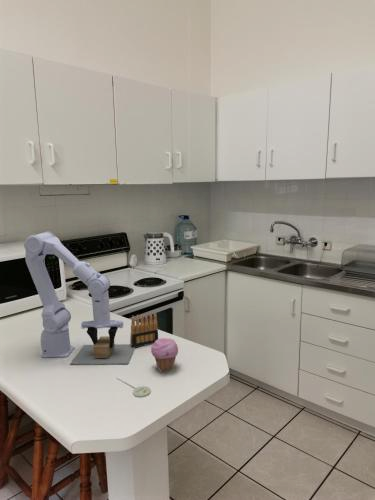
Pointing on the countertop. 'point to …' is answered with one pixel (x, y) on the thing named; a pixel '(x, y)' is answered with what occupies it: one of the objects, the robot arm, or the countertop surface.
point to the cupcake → (164, 353)
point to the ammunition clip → (143, 331)
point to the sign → (140, 390)
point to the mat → (117, 357)
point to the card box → (102, 347)
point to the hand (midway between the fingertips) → (104, 346)
